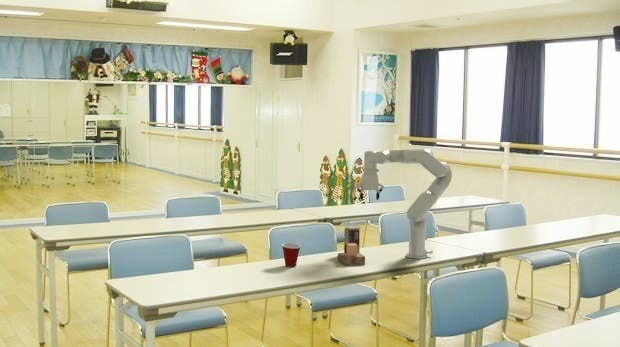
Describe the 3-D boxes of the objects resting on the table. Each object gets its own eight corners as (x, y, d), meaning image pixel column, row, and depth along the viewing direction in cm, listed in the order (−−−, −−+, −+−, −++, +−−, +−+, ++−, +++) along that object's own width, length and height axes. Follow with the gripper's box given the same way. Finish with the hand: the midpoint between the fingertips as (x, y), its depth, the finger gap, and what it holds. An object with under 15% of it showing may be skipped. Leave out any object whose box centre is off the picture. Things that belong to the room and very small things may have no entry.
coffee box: (359, 254, 405) (360, 228, 403) (359, 257, 398) (359, 230, 397) (344, 254, 405) (344, 227, 404) (343, 256, 399) (344, 229, 397)
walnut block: (357, 260, 391) (357, 252, 391) (364, 265, 380) (365, 256, 379) (337, 261, 388) (337, 253, 387) (344, 266, 376) (344, 257, 376)
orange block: (355, 253, 386) (355, 243, 385) (356, 255, 381) (357, 245, 380) (346, 253, 385) (346, 243, 385) (348, 255, 380) (348, 245, 380)
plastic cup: (298, 269, 367) (298, 247, 366) (279, 267, 369) (279, 246, 368) (302, 264, 378) (303, 243, 376) (284, 263, 380) (284, 242, 379)
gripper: (382, 170, 411) (381, 198, 413) (354, 170, 409) (354, 198, 411) (385, 172, 404) (385, 200, 406) (357, 172, 401) (356, 200, 403)
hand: (369, 199), depth 408 cm, fingers open, 9 cm apart
